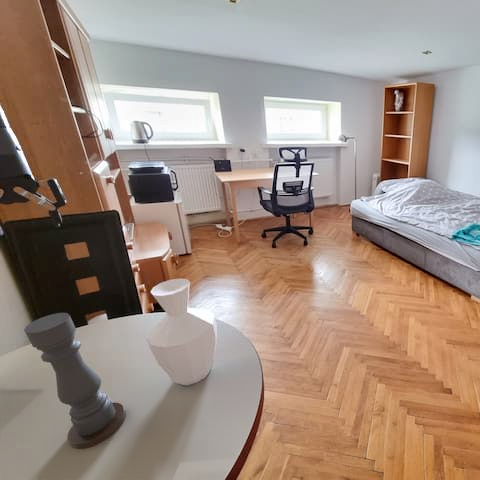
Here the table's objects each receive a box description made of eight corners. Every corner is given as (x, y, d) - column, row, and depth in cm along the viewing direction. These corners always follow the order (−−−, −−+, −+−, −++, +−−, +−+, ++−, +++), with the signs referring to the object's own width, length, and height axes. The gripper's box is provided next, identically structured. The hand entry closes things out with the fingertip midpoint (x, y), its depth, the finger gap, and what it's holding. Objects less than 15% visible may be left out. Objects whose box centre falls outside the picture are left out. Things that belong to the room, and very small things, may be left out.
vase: (212, 392, 67) (187, 303, 58) (149, 397, 66) (114, 306, 57) (232, 349, 81) (215, 270, 71) (180, 352, 80) (156, 273, 71)
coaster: (57, 451, 55) (54, 446, 55) (92, 409, 64) (89, 404, 63) (107, 445, 56) (105, 440, 56) (135, 404, 65) (133, 400, 64)
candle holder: (98, 435, 57) (46, 334, 47) (67, 435, 57) (10, 334, 48) (123, 407, 62) (80, 311, 53) (95, 407, 62) (48, 311, 53)
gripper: (48, 149, 63) (75, 220, 69) (-58, 153, 54) (-16, 233, 60) (43, 151, 57) (73, 227, 63) (-76, 155, 49) (-28, 243, 55)
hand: (29, 230), depth 62 cm, fingers open, 8 cm apart
